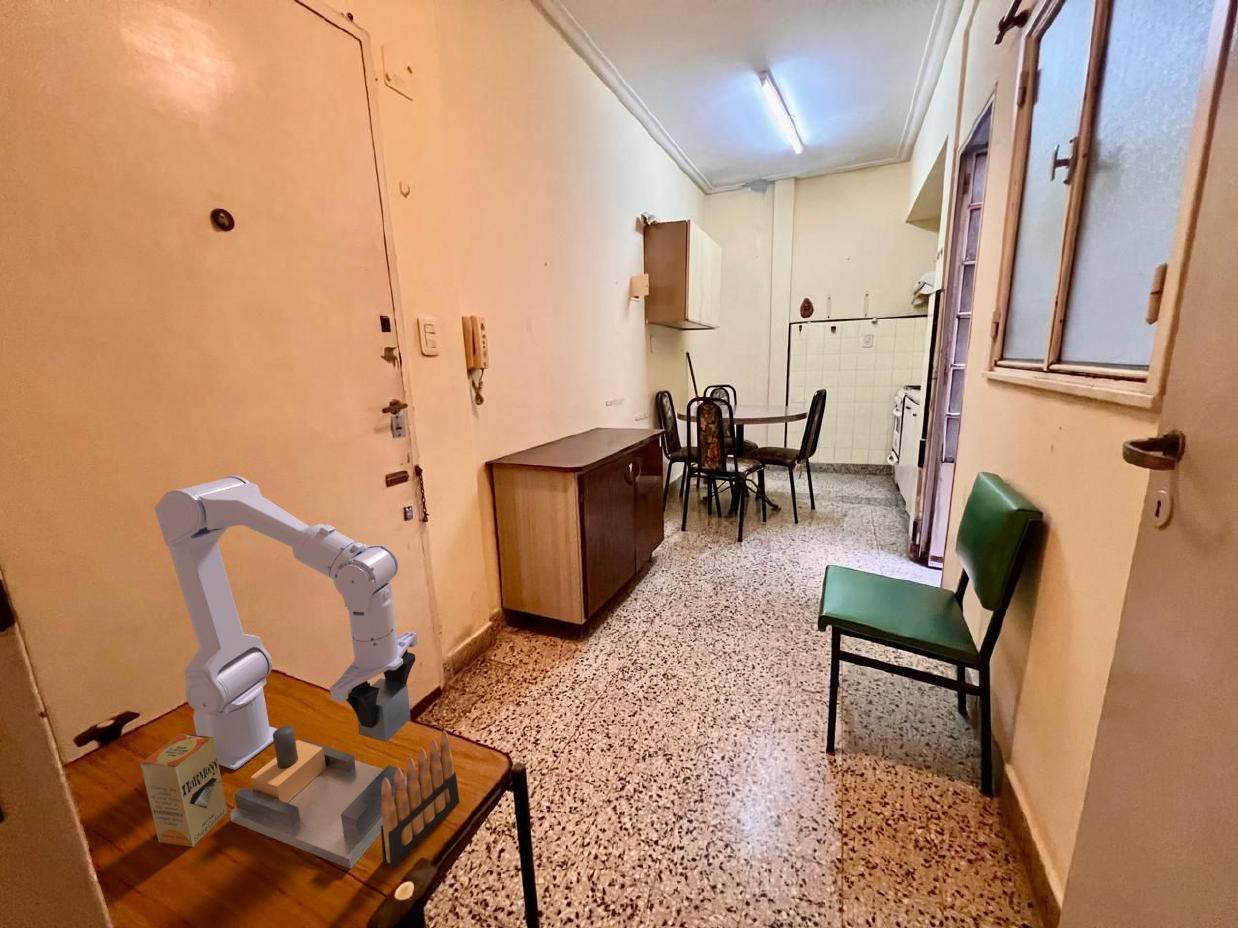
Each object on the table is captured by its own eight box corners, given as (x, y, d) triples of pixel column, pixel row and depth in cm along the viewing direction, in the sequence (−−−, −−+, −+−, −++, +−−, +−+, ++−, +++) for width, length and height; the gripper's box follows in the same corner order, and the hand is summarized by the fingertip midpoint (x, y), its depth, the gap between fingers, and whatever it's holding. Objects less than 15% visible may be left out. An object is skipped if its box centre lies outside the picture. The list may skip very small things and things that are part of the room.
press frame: (231, 821, 65) (225, 790, 64) (311, 754, 76) (307, 727, 75) (350, 868, 59) (346, 835, 58) (418, 788, 70) (415, 759, 69)
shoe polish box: (227, 811, 67) (213, 736, 64) (192, 846, 62) (175, 767, 59) (195, 807, 67) (180, 733, 65) (158, 842, 62) (140, 763, 60)
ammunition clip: (392, 868, 59) (382, 786, 57) (382, 861, 60) (372, 780, 58) (459, 801, 68) (454, 728, 66) (450, 795, 69) (444, 723, 67)
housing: (351, 731, 72) (346, 696, 71) (376, 709, 77) (373, 676, 76) (386, 742, 70) (382, 706, 69) (410, 718, 75) (407, 684, 74)
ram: (254, 798, 67) (244, 745, 65) (300, 759, 73) (293, 710, 72) (281, 808, 65) (272, 754, 64) (326, 767, 72) (318, 718, 70)
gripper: (355, 664, 62) (366, 754, 65) (430, 610, 76) (436, 687, 78) (313, 654, 64) (325, 742, 67) (393, 604, 78) (401, 678, 80)
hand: (383, 712), depth 73 cm, fingers closed on housing, 5 cm apart
